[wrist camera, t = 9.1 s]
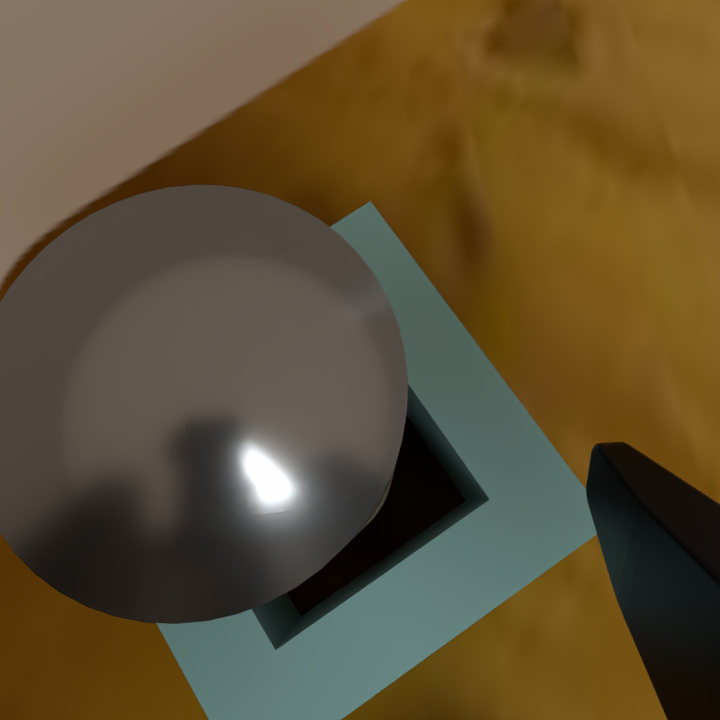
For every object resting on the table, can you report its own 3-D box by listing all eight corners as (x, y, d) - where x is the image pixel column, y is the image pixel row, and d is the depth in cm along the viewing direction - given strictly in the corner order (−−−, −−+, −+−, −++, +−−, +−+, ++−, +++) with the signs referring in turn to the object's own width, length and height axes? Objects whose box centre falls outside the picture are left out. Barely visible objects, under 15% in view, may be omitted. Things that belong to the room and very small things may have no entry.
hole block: (279, 719, 16) (246, 788, 12) (115, 430, 18) (40, 410, 14) (558, 519, 17) (611, 523, 13) (373, 264, 19) (370, 201, 15)
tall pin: (343, 562, 17) (216, 732, 4) (245, 487, 17) (-124, 435, 5) (415, 460, 17) (495, 336, 5) (318, 390, 18) (160, 113, 5)
